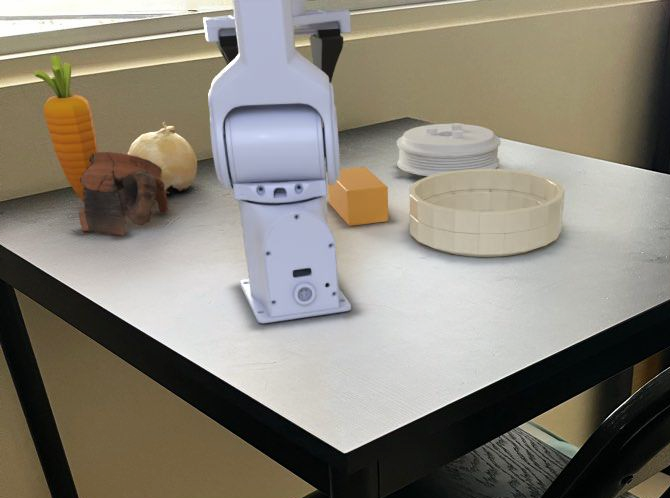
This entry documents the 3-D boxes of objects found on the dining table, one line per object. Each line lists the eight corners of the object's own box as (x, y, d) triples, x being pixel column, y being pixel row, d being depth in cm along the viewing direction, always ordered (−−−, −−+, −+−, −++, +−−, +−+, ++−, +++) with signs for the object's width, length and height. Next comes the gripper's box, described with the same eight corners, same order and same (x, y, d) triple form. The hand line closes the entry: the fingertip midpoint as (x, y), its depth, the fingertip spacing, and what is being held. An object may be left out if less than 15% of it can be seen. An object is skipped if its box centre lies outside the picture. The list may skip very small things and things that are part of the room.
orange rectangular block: (388, 221, 93) (387, 186, 91) (349, 226, 92) (347, 190, 90) (366, 199, 99) (365, 166, 97) (329, 204, 98) (326, 170, 96)
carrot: (99, 213, 97) (64, 61, 88) (59, 211, 98) (20, 61, 89) (119, 200, 101) (88, 53, 92) (80, 198, 102) (45, 53, 93)
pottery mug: (59, 232, 93) (65, 152, 92) (140, 252, 100) (146, 178, 99) (113, 225, 85) (120, 137, 84) (197, 247, 92) (204, 166, 91)
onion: (192, 199, 101) (182, 133, 96) (124, 200, 101) (111, 134, 96) (206, 180, 107) (197, 117, 103) (142, 181, 107) (130, 118, 103)
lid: (468, 190, 101) (470, 144, 98) (377, 177, 107) (376, 133, 104) (516, 165, 110) (518, 122, 107) (429, 153, 115) (429, 112, 112)
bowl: (586, 249, 85) (591, 201, 82) (440, 269, 81) (440, 220, 78) (521, 205, 96) (524, 162, 94) (391, 221, 93) (390, 177, 90)
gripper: (334, -45, 89) (342, 101, 97) (191, -38, 85) (212, 113, 93) (353, -41, 83) (360, 114, 92) (201, -33, 80) (222, 127, 88)
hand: (286, 115), depth 92 cm, fingers open, 7 cm apart
